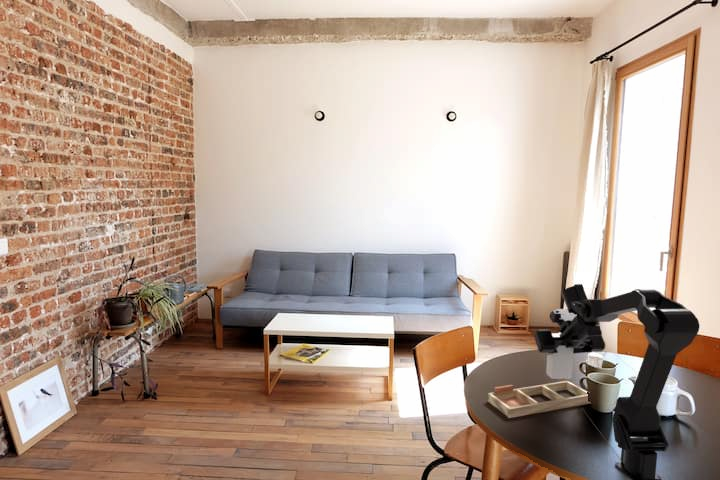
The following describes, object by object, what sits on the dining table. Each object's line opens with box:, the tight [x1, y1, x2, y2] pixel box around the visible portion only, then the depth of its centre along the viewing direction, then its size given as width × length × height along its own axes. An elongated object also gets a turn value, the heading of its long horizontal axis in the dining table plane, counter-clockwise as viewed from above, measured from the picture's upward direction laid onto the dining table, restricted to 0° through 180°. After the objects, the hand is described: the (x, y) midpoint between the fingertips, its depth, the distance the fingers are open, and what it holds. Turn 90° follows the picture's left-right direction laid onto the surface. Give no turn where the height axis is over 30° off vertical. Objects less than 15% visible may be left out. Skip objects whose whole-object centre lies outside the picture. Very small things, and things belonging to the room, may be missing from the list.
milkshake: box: [587, 351, 607, 369], centre depth 146 cm, size 5×5×10 cm
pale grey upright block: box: [545, 332, 574, 380], centre depth 133 cm, size 4×6×12 cm, turn 94°
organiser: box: [487, 380, 592, 419], centre depth 131 cm, size 10×29×4 cm, turn 108°
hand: (557, 352), depth 134 cm, fingers closed on pale grey upright block, 6 cm apart
